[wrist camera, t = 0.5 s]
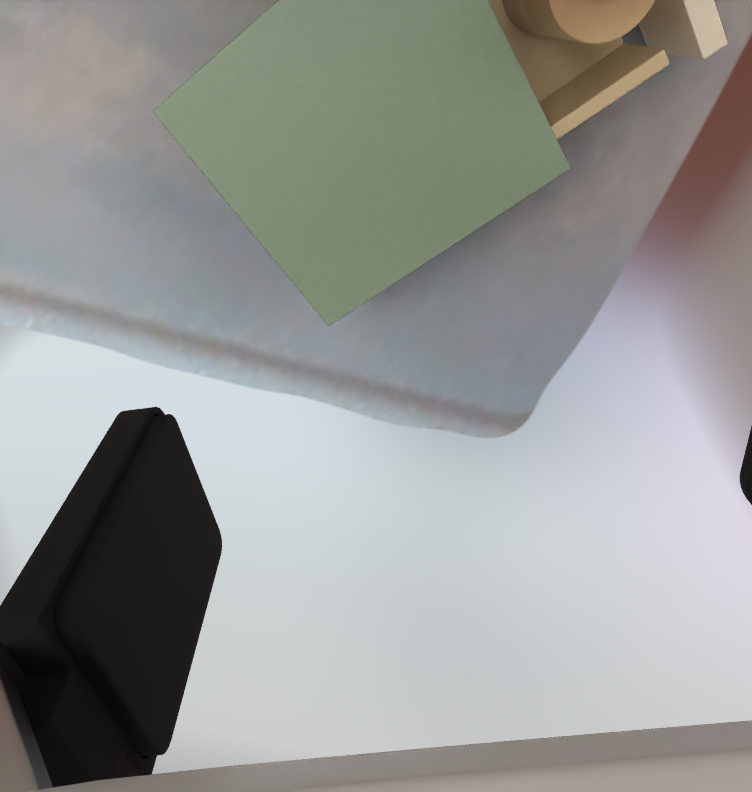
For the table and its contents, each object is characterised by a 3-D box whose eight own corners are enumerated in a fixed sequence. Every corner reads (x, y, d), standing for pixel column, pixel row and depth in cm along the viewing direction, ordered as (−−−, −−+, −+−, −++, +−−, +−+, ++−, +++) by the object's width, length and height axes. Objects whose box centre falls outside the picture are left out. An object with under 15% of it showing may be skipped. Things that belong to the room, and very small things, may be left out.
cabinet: (411, -99, 32) (424, -130, 24) (532, 137, 38) (571, 168, 31) (194, 90, 36) (151, 111, 29) (334, 272, 43) (328, 326, 35)
